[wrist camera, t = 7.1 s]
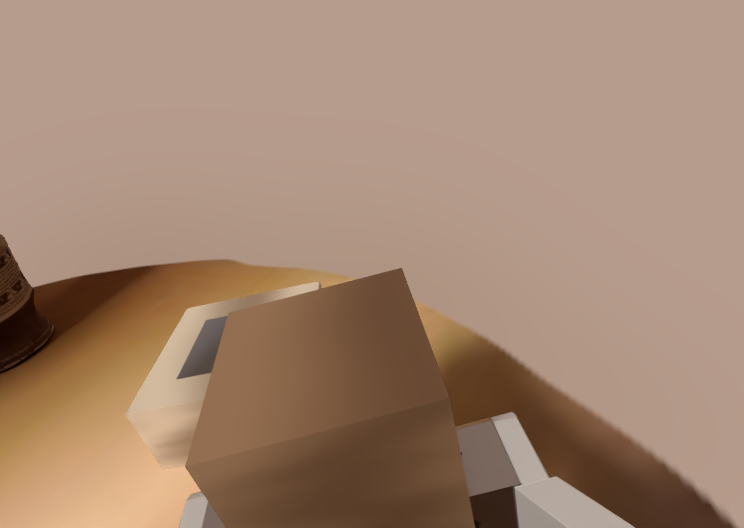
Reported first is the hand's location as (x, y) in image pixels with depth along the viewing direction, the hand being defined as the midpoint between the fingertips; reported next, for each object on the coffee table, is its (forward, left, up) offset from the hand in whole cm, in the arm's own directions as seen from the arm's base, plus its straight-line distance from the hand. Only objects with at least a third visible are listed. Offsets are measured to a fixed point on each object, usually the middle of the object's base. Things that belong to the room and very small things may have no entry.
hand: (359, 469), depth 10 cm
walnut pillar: (0, 0, -7) cm, 7 cm away
